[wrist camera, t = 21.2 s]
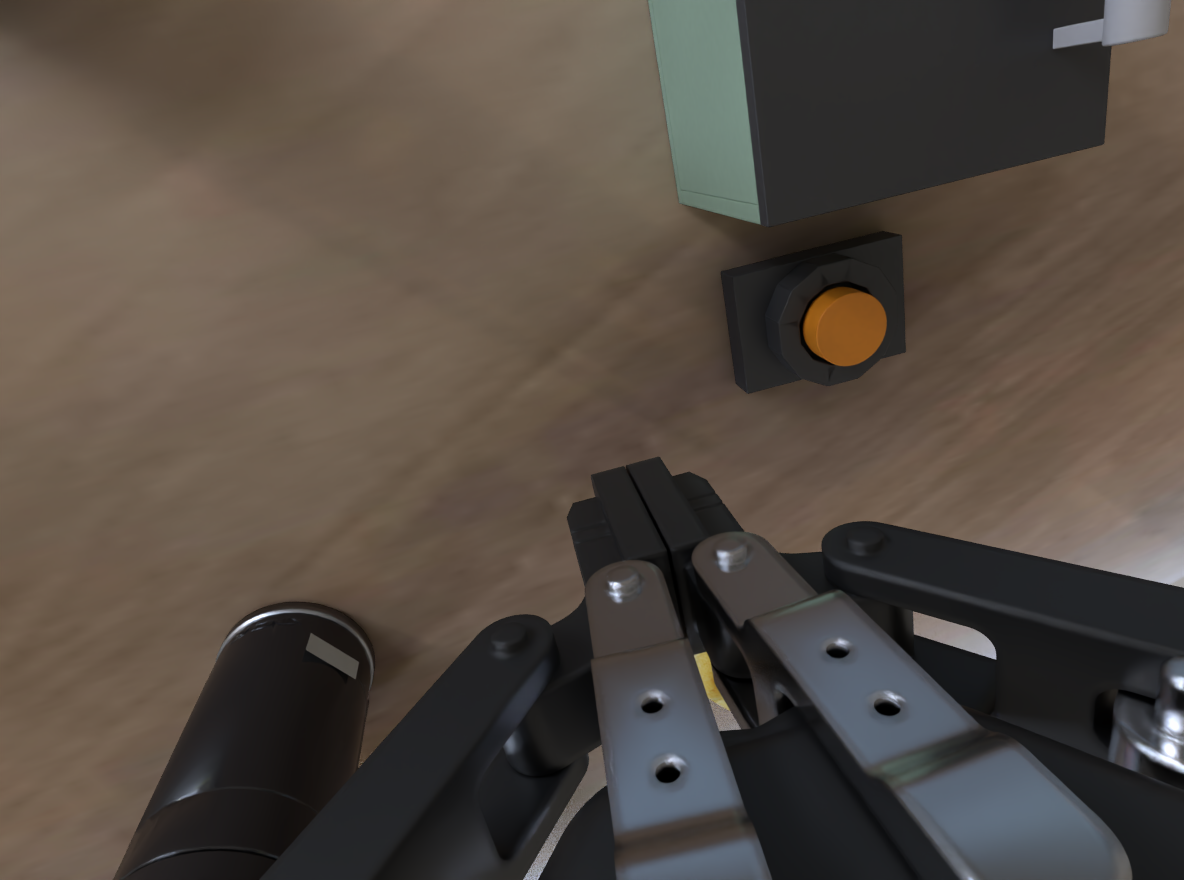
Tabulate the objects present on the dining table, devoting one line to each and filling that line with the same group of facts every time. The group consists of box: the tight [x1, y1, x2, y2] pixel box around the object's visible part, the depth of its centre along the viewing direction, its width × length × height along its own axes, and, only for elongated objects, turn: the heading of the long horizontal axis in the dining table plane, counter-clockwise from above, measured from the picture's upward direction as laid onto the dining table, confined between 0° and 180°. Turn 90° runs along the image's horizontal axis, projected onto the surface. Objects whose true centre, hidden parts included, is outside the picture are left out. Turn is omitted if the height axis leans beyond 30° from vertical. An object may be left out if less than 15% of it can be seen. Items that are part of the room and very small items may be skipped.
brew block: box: [721, 231, 906, 394], centre depth 41 cm, size 10×7×4 cm
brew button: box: [803, 287, 887, 366], centre depth 39 cm, size 4×4×2 cm
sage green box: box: [648, 0, 761, 225], centre depth 32 cm, size 14×13×12 cm
